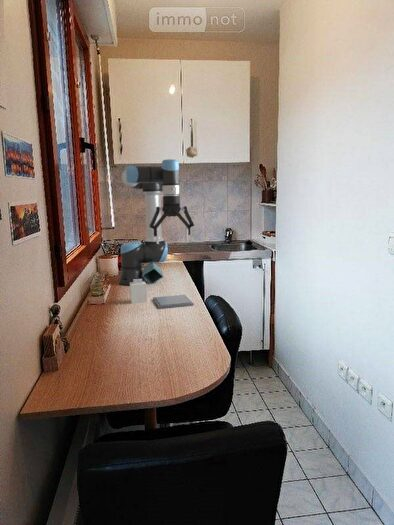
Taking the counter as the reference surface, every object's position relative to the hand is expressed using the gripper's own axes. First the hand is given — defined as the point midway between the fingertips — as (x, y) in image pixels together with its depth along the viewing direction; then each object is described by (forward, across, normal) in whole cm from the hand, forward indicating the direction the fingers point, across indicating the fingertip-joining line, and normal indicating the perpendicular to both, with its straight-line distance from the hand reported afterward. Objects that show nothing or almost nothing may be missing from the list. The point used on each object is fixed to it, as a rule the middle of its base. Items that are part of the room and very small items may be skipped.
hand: (172, 242), depth 172 cm
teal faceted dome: (+19, -2, +47) cm, 51 cm away
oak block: (-47, +34, +83) cm, 102 cm away
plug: (+28, -15, +8) cm, 33 cm away
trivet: (+28, 0, +1) cm, 28 cm away
